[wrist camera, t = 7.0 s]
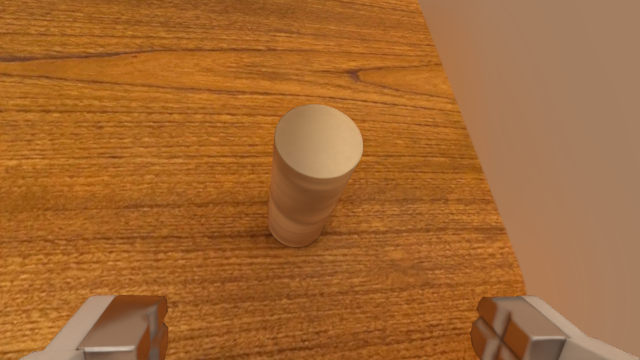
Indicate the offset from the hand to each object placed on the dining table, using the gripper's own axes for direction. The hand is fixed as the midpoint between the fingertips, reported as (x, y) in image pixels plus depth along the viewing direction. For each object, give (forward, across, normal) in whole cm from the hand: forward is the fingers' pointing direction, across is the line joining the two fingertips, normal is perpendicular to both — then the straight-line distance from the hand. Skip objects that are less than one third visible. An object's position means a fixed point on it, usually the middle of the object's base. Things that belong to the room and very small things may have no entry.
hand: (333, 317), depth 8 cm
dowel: (+12, 0, +3) cm, 12 cm away
